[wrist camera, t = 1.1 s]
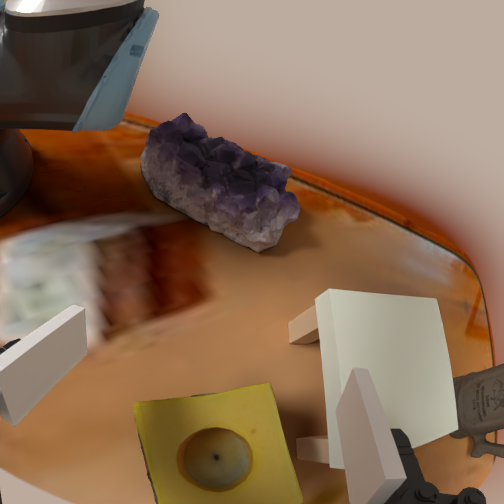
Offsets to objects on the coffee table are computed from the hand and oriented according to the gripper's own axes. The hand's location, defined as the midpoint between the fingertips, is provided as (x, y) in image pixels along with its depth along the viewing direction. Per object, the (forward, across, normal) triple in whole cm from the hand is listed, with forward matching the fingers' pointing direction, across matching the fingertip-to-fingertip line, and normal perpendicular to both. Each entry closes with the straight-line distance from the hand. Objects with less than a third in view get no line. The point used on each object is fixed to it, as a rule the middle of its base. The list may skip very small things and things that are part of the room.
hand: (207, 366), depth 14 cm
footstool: (+18, +14, -12) cm, 26 cm away
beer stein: (+20, +37, -20) cm, 46 cm away
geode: (+28, -7, +4) cm, 29 cm away
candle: (+8, -1, -16) cm, 18 cm away
